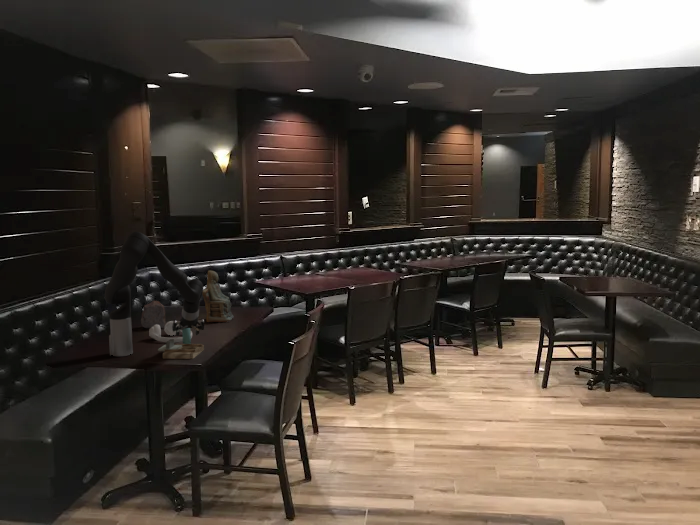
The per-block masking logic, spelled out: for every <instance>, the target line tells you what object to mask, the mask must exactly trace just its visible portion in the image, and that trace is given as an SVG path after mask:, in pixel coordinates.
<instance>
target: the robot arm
mask: <svg viewBox="0 0 700 525" xmlns="http://www.w3.org/2000/svg"><path fill="white" fill-rule="evenodd" d="M146 254H148V255H149V256H150V258H152V260H153V262H154V264H155V266H156V268H157V270H158V272H159V274H160V275H161V277H162V278H163V279H164V280H166V281H167V282H168V283H170V284H171V285H172V286H174V288H175V289H176V290H177V292H178V294H179V295H180V297H182V298H183V299H184V300H183V305H182V306H183V307H182V310H181V318H180V319H179V320H177V319H173V320H172V321H173V326H172V329H173V331H176V335H175V336H177V337H179V336H180V332H181V331H180V330H183V329H185V328H190V329H192V328H193V329H194V330H195V335H196V336H198V335H199V334H200V331H204V330H205V319H204V318H201V319H199V315H200V302H201V298H202V296H203V294H202V292H203V290H204V284H203V282H202V281H201V280H200V279H198V278H192V279H190V280H189V281H188V275H187V274H186V273H185V272H184V271H182V270H181V269H180V268H179V267H177V266H176V265H175V264H174V263H172V262H171V260H169V259H168V257H167V256H166V255H165V254H164V253H163V251H161V249H160V248H158V247H157V245H156V244H155V243H154V242H153V241H152V240H151V239H150V238H149V237H148V236H147V235H146V234H144V233H143V232H140V231H132V232H130V234H129V235H128V236H127V238H126V239H125V241H124V242H123V244H122V246H121V248H120V255H119V260H118V261H117V262H116V264H115V267H114V269H113V273H112V275H111V278H110V279H109V281H108V283H107V285H106V286H105V290H104V300H105V302H106V303H107V304H109V305H117V304H118V305H119V304H121V305H120V306H119V307H118V308H116V309H115V310H112V311H110V312H109V327H110V334H109V335H108V341H109V343H108V344H109V356H111V355H113V357H126V356H130V354H131V355H132V354H133V353H134V347H133V330H132V329H133V328H132V327H133V326H132V301H131V300H132V294H131V293H132V292H131V291H132V290H131V286H130V284H132V283H133V282H134V280H135V279H136V276H137V274H138V269H139V268H138V265H139V263H140V262H141V261H142V260H143V259H144V256H145V255H146ZM199 324H200V325H199ZM177 325H178V326H177ZM176 326H177V327H176Z"/></svg>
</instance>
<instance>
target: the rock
mask: <svg viewBox="0 0 700 525" xmlns="http://www.w3.org/2000/svg"><path fill="white" fill-rule="evenodd" d="M142 309H143V310H142V312H141V319H140V322H141V323H140V324H141V326H142V327H143V328H144V329H151V327H153V326H154V325H160V328H161V329H164V327H165V324H166V323H167V321H166V312H167V311H166V308H165V306H164V305H163V304H162V303H161V302H160V301H158V300H152V301H151V302H149V303H146V304H145V305H143V308H142Z"/></svg>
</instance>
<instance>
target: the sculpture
mask: <svg viewBox="0 0 700 525" xmlns="http://www.w3.org/2000/svg"><path fill="white" fill-rule="evenodd" d="M218 281H219V275H218V272H216V271H214V270H207V282H206V283H207V284H206V287H205V288H203V291H202V297H203V301H204V304H205V306H204V309H205V310H206V317H205V319H206V323H207V322H227V321H231V320H232V318H233V319H234V318H235V316H234V315H233V313H232V310H231V309H232V307H231V305H232V304H231V300H230V297H229V296H228V295H225V294H223V292H222V290H221V288H220V286H219V284H218ZM232 321H233V320H232ZM232 321H231V322H232ZM227 323H228V322H227Z"/></svg>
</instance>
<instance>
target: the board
mask: <svg viewBox="0 0 700 525" xmlns="http://www.w3.org/2000/svg"><path fill="white" fill-rule="evenodd" d="M174 345H182V347H181V348H180V349H165V351H163V353H162V359H168V360H169V359H170V360H171V359H172V360H173V359H175V360H177V359H178V360H179V359H180V360H186V359H187V360H188V359H190V360H192V359H193V360H194V358H196V357H197V356H198V355H200V354H201V353H202V352H203V351H204V350H205V345H204V344H202V343H191V344H183V343H174Z"/></svg>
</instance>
